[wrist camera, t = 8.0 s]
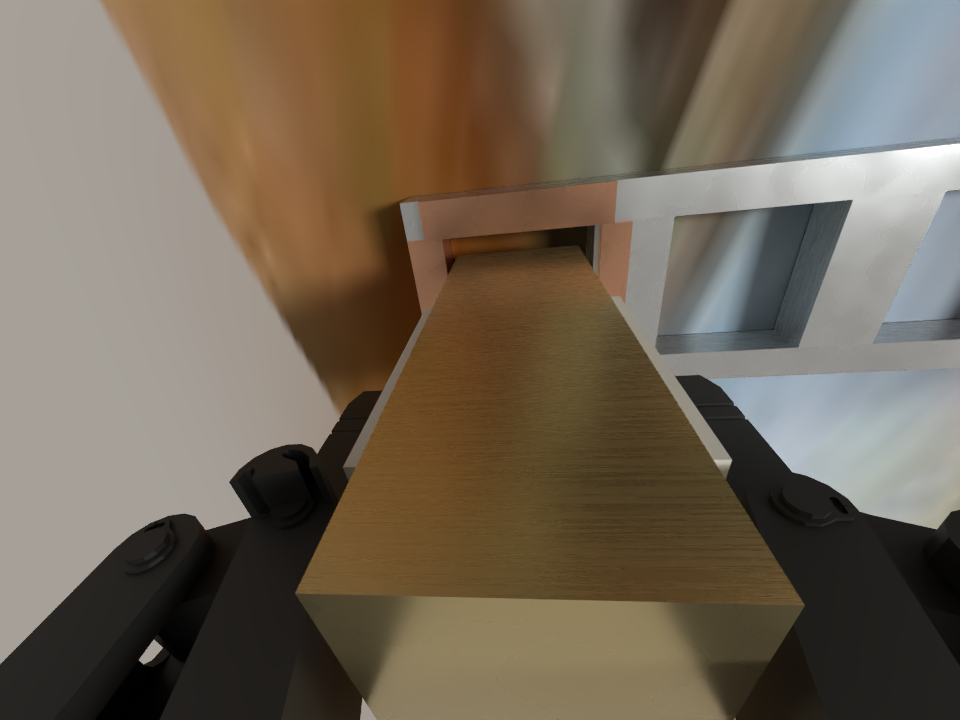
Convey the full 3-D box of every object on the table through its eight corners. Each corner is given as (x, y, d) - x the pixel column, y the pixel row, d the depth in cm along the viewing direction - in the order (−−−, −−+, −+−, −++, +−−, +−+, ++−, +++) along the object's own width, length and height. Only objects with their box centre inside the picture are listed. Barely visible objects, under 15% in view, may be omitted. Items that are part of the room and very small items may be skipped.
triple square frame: (410, 197, 14) (398, 204, 13) (1165, 115, 11) (1267, 111, 10) (442, 371, 18) (436, 393, 17) (1006, 343, 15) (1061, 366, 14)
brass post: (457, 255, 14) (294, 593, 4) (578, 245, 13) (806, 606, 3) (471, 357, 16) (396, 749, 6) (575, 352, 15) (700, 771, 5)
